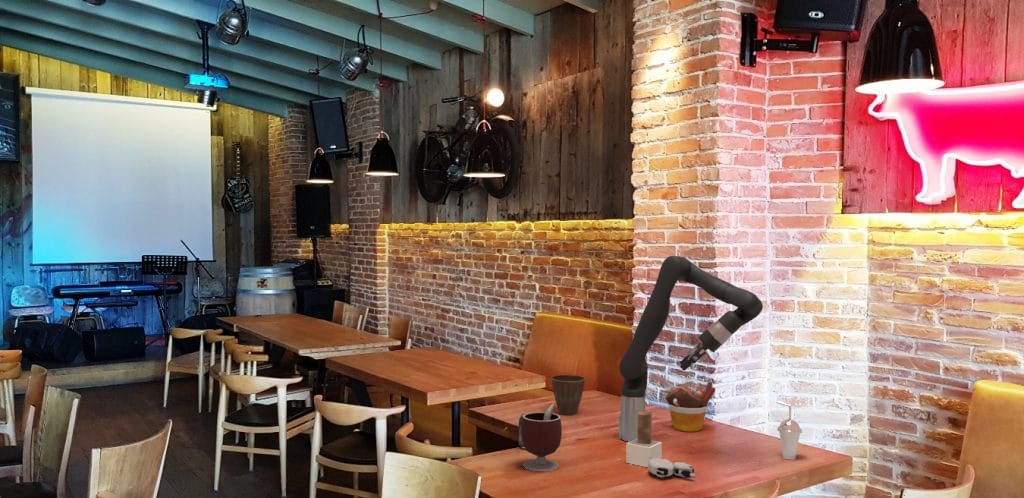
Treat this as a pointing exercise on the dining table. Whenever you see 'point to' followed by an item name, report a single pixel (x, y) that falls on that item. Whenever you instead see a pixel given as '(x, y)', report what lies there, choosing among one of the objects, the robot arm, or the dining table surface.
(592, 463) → the dining table surface
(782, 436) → the cup with straw
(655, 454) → the block
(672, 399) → the bucket of meat
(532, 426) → the mate gourd
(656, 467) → the robot toy
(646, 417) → the walnut block
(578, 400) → the plant pot
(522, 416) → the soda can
